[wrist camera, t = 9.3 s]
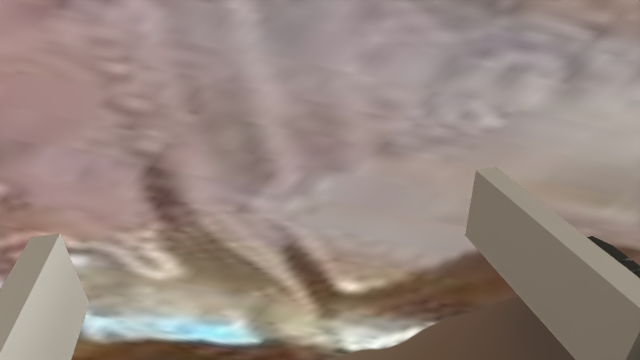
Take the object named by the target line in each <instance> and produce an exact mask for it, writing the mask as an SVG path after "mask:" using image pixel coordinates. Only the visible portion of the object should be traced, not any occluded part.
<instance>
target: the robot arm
mask: <svg viewBox="0 0 640 360" xmlns="http://www.w3.org/2000/svg"><path fill="white" fill-rule="evenodd" d="M465 236H466V237H467V238H468V239H469V240H470V241H471V242H472V243H473V245H474V246H475V247H476V248H477V249H478V250H479V251H480V252H481V254H482V255H483V256H484V257H485V258H486V259H487V260H488V261H489V263H490V264H491V265H492V266H493V267H494V268H495V269H496V270H497V272H498V273H499V274H500V275H501V276H502V277H503V278H504V279H505V281H506V282H507V283H508V284H509V285H510V286H511V287H512V288H513V290H514V291H515V292H516V293H517V294H518V295H519V296H520V297H521V298H522V300H523V301H524V302H525V303H526V304H527V305H528V306H529V308H530V309H531V310H532V311H533V312H534V313H535V314H536V315H537V317H538V318H539V319H540V320H541V321H542V322H543V323H544V324H545V326H546V327H547V328H548V329H549V330H550V331H551V332H552V334H553V335H554V336H555V337H556V338H557V339H558V340H559V341H560V342H561V344H562V345H563V346H564V347H565V348H566V349H567V350H568V352H569V353H570V354H571V355H572V356H573V357H574V358H575V359H576V360H640V266H639V265H638V264H636V263H635V262H634V261H633V260H632V261H630V260H629V257H627V256H626V255H625V254H623V253H622V252H621V251H619V250H618V249H616V248H615V247H614V246H612V245H610V244H608V243H606V242H604V241H602V240H599V239H597V238H595V237H593V236H591V237H586V236H584V235H583V234H582V233H581V232H579V231H578V230H577V229H575V228H574V227H573V226H571V225H570V224H569V223H568V222H566V221H565V220H564V219H562V218H561V217H560V216H559V215H557V214H556V213H555V212H553V211H552V210H551V209H549V208H548V207H547V206H546V205H544V204H543V203H542V202H540V201H539V200H538V199H537V198H535V197H534V196H533V195H531V194H530V193H529V192H527V191H526V190H525V189H524V188H522V187H521V186H520V185H518V184H517V183H516V182H515V181H513V180H512V179H511V178H509V177H508V176H507V175H505V174H504V173H503V172H502V171H500V170H499V169H498V168H496V167H495V168H489V169H482V170H476V174H475V180H474V186H473V192H472V198H471V204H470V210H469V216H468V222H467V228H466V234H465ZM88 306H89V302H88V299H87V297H86V295H85V292H84V290H83V287H82V285H81V283H80V280H79V278H78V275H77V273H76V270H75V268H74V266H73V263H72V261H71V258H70V256H69V254H68V251H67V249H66V246H65V244H64V242H63V239H62V237H61V234H60V233H59V234H53V235H46V236H40V237H33V238H30V240H29V241H28V243H27V245H26V247H25V248H24V250H23V252H22V253H21V255H20V257H19V258H18V260H17V262H16V263H15V265H14V267H13V268H12V270H11V272H10V274H9V275H8V277H7V279H6V280H5V282H4V284H3V285H2V287H1V289H0V360H71V358H72V355H73V352H74V349H75V346H76V343H77V340H78V337H79V333H80V330H81V327H82V324H83V321H84V318H85V315H86V312H87V309H88Z"/></svg>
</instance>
